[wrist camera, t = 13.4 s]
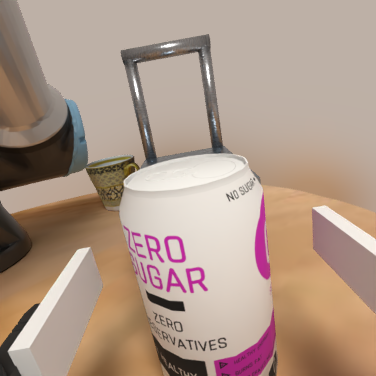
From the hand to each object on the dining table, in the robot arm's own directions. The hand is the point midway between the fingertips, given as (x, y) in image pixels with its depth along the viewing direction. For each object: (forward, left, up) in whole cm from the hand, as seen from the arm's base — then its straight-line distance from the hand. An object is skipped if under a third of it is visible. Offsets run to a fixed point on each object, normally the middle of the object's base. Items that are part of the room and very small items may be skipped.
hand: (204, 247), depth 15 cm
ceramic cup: (-41, +7, -10) cm, 43 cm away
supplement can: (-1, 0, -10) cm, 11 cm away
